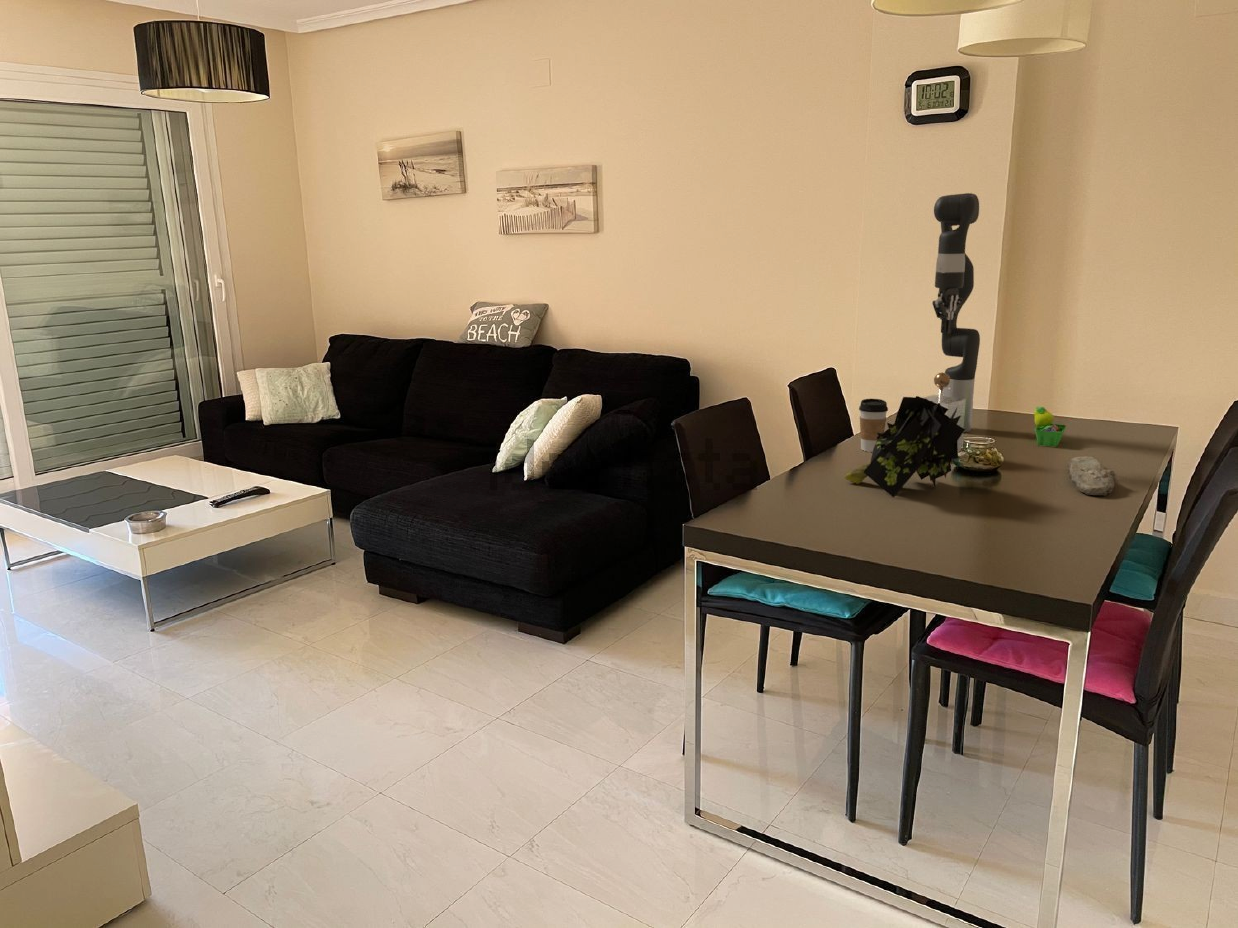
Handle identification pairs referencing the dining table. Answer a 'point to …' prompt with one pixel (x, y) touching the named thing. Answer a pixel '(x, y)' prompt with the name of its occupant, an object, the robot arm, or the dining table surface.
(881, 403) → the coffee cup
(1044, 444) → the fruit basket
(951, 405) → the press
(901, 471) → the black leafy clump
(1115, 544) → the dining table surface
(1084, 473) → the elongated rock
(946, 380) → the plunger
